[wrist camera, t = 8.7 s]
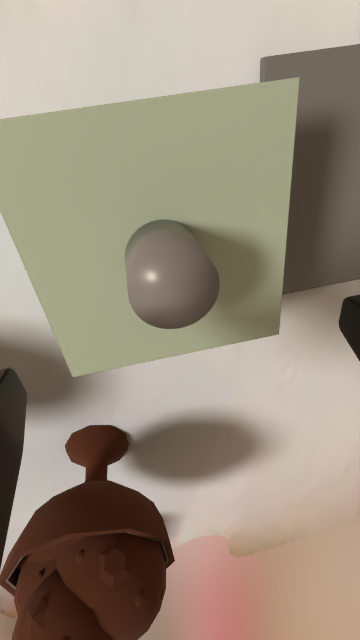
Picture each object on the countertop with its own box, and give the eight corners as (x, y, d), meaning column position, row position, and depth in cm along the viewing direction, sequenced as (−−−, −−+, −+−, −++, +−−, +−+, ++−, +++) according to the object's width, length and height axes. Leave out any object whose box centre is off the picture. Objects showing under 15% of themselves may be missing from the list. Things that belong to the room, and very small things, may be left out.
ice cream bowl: (57, 490, 31) (21, 740, 19) (12, 417, 25) (-87, 723, 12) (163, 466, 32) (195, 689, 20) (146, 390, 26) (179, 649, 13)
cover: (288, 78, 11) (355, 67, 8) (272, 325, 18) (307, 372, 14) (-29, 123, 10) (-88, 130, 7) (74, 366, 17) (65, 425, 14)
